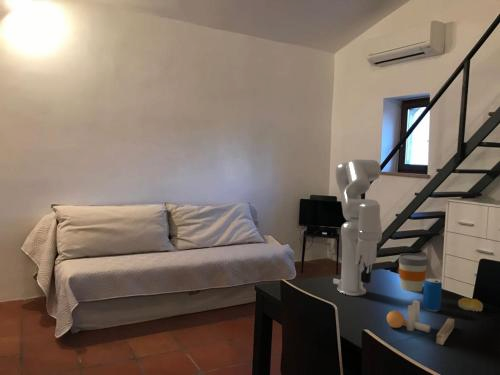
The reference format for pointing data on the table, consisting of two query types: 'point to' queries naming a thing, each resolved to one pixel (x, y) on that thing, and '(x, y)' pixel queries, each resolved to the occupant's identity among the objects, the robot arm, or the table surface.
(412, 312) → the pin
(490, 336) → the table surface
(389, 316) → the ball
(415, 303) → the pin
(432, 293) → the beverage can
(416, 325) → the front pin
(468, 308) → the bread roll
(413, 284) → the reusable coffee cup
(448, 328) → the cream long bar
